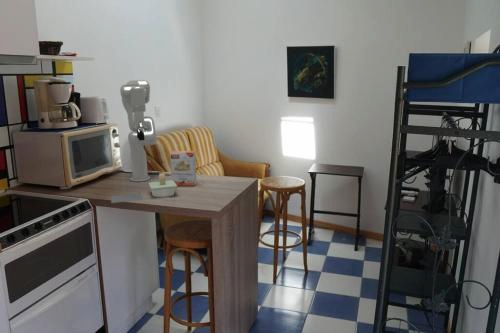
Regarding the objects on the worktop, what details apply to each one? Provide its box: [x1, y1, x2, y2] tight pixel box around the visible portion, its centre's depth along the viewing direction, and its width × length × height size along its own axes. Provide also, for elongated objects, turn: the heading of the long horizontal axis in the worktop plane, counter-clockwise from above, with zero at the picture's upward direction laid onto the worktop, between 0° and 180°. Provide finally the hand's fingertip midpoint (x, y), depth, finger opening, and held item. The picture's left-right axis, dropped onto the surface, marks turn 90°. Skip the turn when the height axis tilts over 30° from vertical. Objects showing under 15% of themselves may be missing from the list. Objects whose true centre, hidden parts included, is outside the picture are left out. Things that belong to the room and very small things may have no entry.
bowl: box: [151, 188, 175, 198], centre depth 233 cm, size 12×12×5 cm
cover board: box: [148, 172, 178, 191], centre depth 232 cm, size 14×14×7 cm
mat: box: [110, 192, 143, 204], centre depth 227 cm, size 14×16×1 cm
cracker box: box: [170, 150, 197, 187], centre depth 251 cm, size 14×6×21 cm, turn 84°
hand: (140, 139), depth 237 cm, fingers open, 9 cm apart
